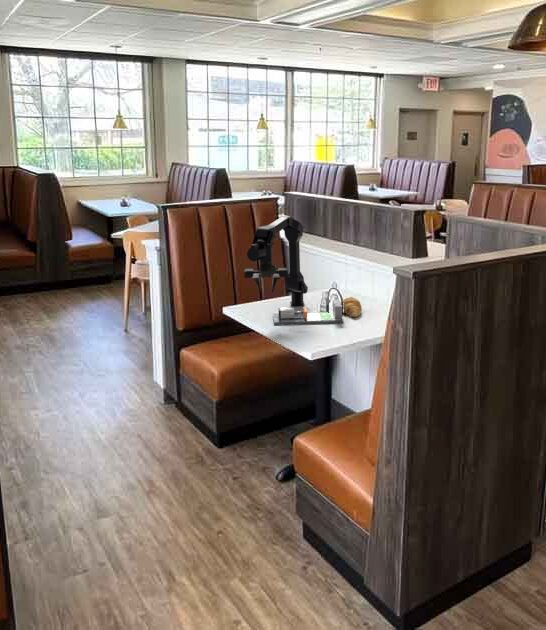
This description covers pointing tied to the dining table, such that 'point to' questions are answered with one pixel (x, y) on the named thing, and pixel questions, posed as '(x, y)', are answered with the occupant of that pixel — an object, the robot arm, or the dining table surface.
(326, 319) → the gauge board
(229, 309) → the dining table surface
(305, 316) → the bar
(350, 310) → the croissant
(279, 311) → the threaded rod block
